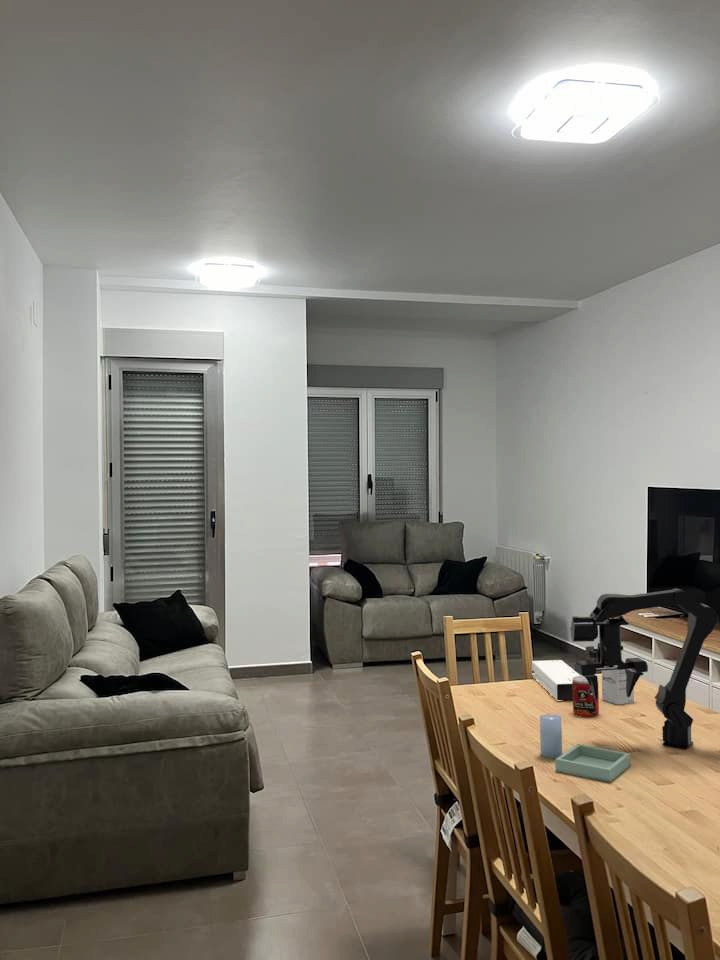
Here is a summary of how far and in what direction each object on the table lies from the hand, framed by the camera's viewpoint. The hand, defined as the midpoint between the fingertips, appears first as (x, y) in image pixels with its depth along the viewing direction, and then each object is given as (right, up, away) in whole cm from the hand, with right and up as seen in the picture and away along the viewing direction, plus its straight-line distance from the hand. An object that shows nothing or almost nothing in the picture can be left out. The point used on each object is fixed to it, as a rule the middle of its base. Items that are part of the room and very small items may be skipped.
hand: (612, 697), depth 229 cm
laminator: (0, -13, +61) cm, 62 cm away
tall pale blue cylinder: (-18, -14, -7) cm, 23 cm away
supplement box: (+15, -12, +43) cm, 47 cm away
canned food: (+1, -13, +29) cm, 32 cm away
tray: (-10, -13, -17) cm, 24 cm away
